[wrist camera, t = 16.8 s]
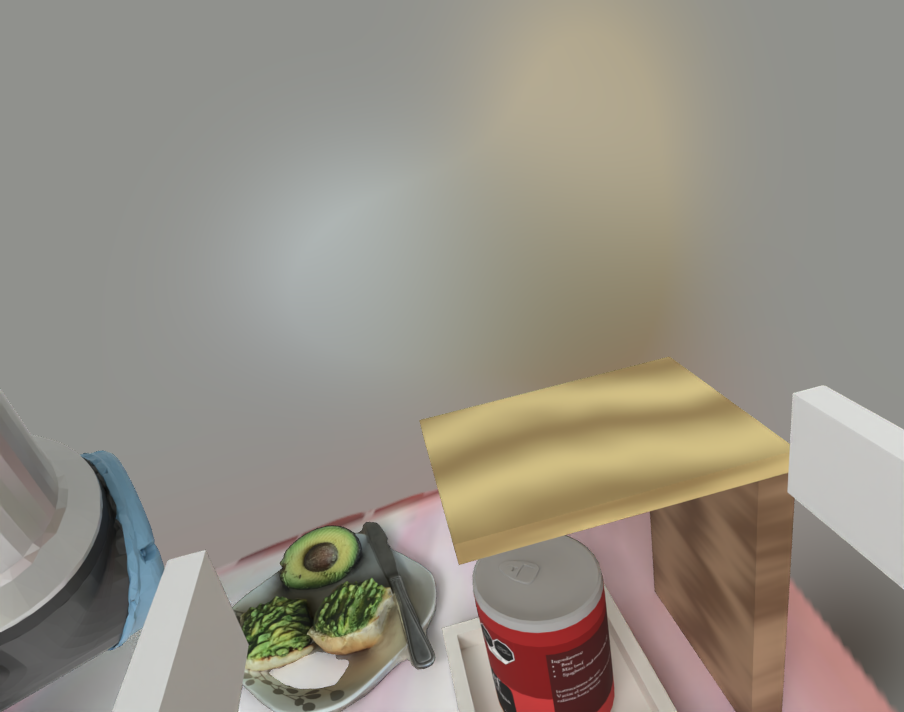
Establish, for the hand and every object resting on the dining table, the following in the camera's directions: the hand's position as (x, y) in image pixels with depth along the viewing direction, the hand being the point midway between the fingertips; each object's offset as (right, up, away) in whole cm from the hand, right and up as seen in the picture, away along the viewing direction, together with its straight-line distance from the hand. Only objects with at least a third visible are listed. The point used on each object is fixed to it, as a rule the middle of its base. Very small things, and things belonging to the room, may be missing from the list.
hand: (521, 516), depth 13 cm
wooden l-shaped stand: (+9, -19, +28) cm, 35 cm away
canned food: (+6, -20, +28) cm, 34 cm away
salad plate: (-12, -19, +38) cm, 45 cm away
